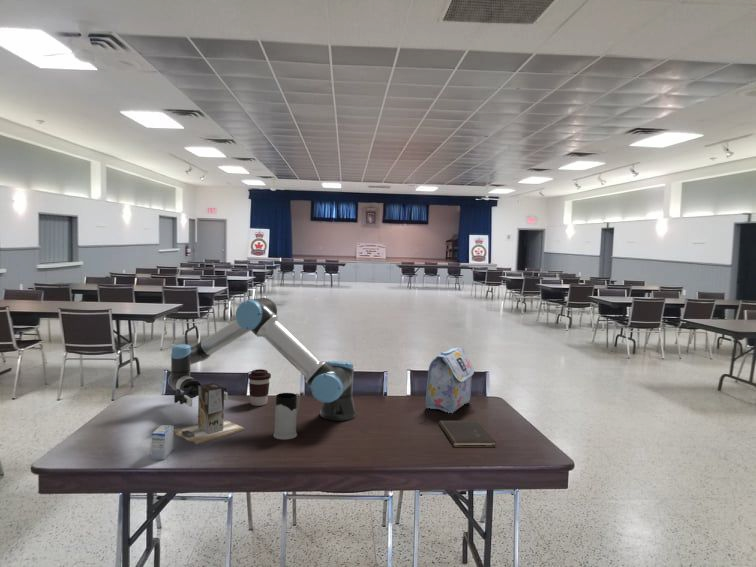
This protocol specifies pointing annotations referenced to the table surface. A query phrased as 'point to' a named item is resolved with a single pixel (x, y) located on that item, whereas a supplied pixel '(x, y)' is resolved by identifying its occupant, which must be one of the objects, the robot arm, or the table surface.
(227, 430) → the clipboard
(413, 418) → the table surface
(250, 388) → the coffee cup
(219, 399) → the coffee box
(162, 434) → the medicine box
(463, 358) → the lunch bag
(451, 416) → the table surface
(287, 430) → the grey mug
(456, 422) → the hardcover book
